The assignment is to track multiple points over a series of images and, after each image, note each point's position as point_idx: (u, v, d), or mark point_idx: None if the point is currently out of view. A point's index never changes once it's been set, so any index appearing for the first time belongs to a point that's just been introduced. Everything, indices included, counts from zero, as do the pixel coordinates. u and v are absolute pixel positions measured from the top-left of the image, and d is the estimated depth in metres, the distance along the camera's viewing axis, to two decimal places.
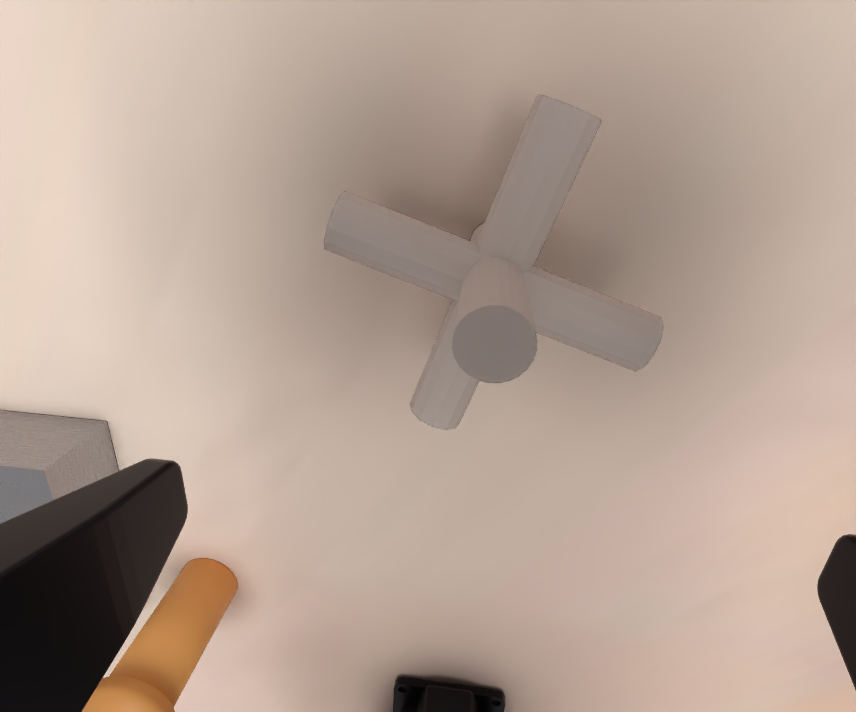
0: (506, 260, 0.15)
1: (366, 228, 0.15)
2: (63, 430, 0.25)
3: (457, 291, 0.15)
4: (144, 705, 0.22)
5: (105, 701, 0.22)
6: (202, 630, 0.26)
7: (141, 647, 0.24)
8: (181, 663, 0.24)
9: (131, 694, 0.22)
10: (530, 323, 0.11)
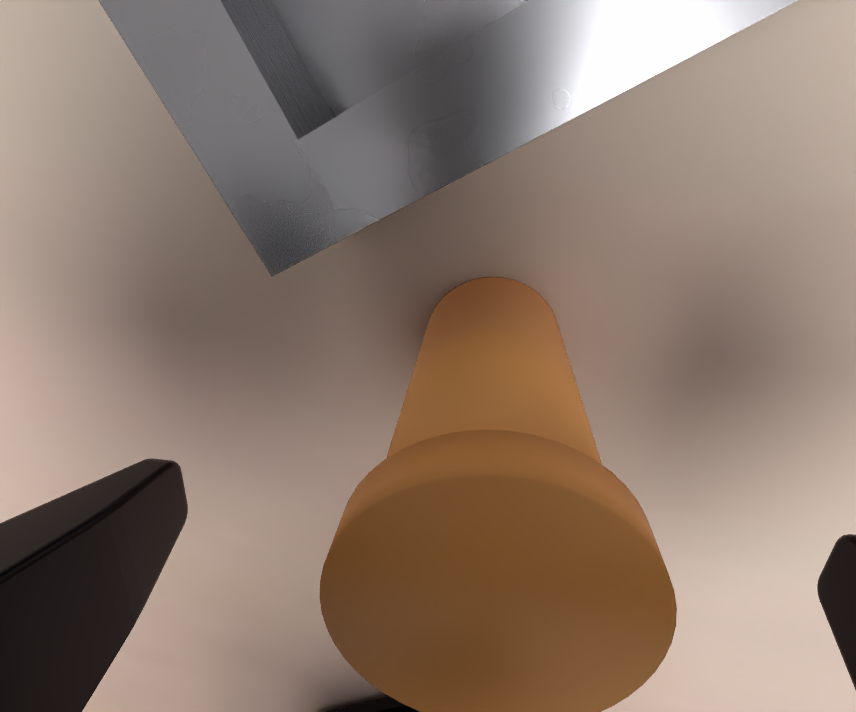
0: None
1: None
2: None
3: None
4: (651, 657, 0.06)
5: (597, 553, 0.05)
6: None
7: (583, 426, 0.07)
8: None
9: None
10: None
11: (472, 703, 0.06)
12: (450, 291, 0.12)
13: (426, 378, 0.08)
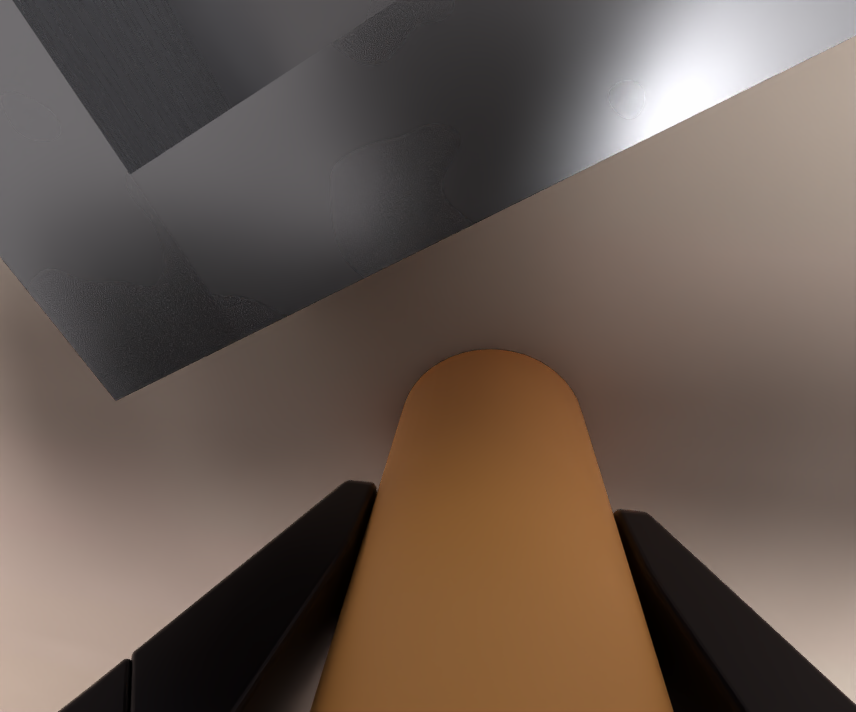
0: None
1: None
2: None
3: None
4: None
5: None
6: None
7: None
8: None
9: None
10: None
11: None
12: (432, 367, 0.09)
13: (377, 576, 0.05)
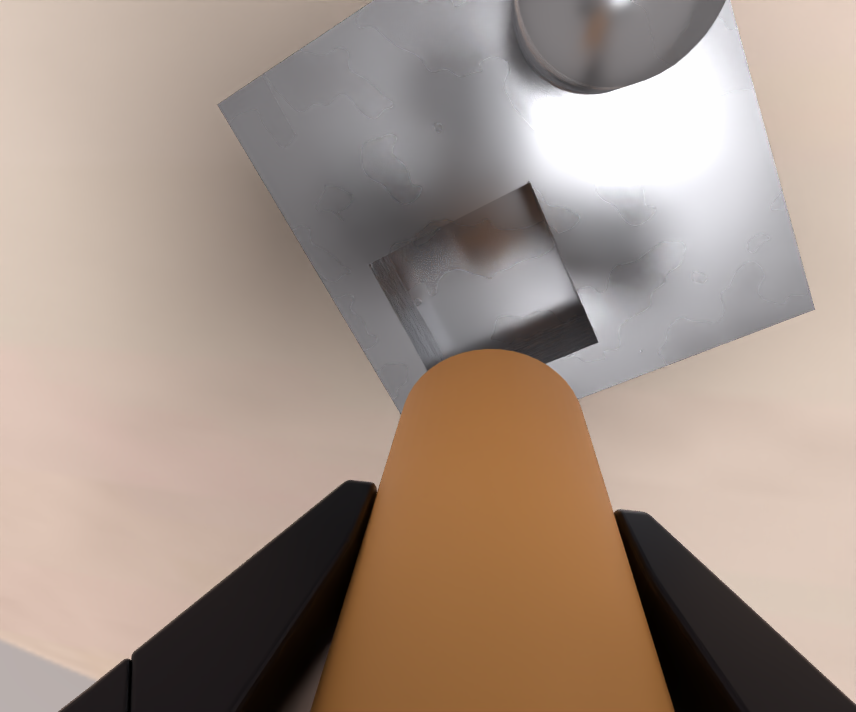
0: None
1: None
2: None
3: None
4: None
5: None
6: None
7: None
8: None
9: None
10: None
11: None
12: (433, 367, 0.09)
13: (377, 577, 0.05)
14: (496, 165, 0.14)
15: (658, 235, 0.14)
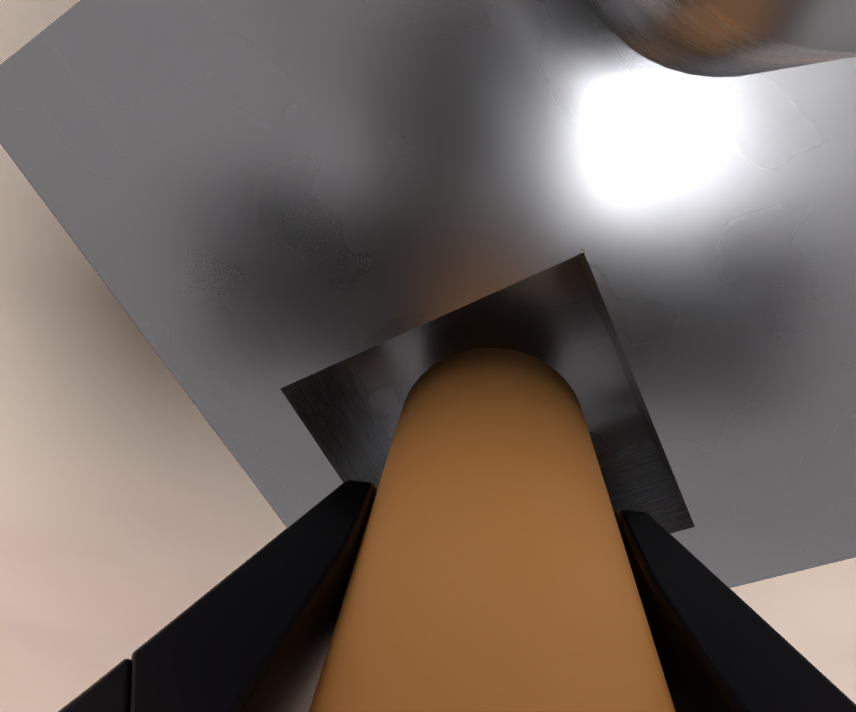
0: None
1: None
2: None
3: None
4: None
5: None
6: None
7: None
8: None
9: None
10: None
11: None
12: (432, 366, 0.09)
13: (377, 576, 0.05)
14: (517, 220, 0.07)
15: (832, 356, 0.07)
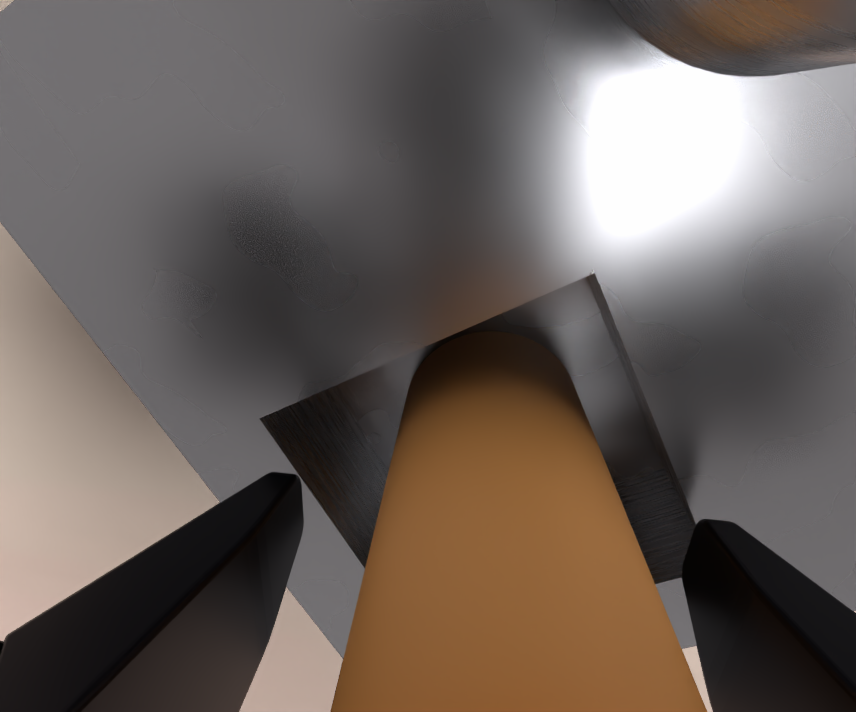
0: None
1: None
2: None
3: None
4: None
5: None
6: None
7: (662, 619, 0.04)
8: None
9: None
10: None
11: None
12: (436, 349, 0.09)
13: (405, 517, 0.05)
14: (520, 236, 0.06)
15: None
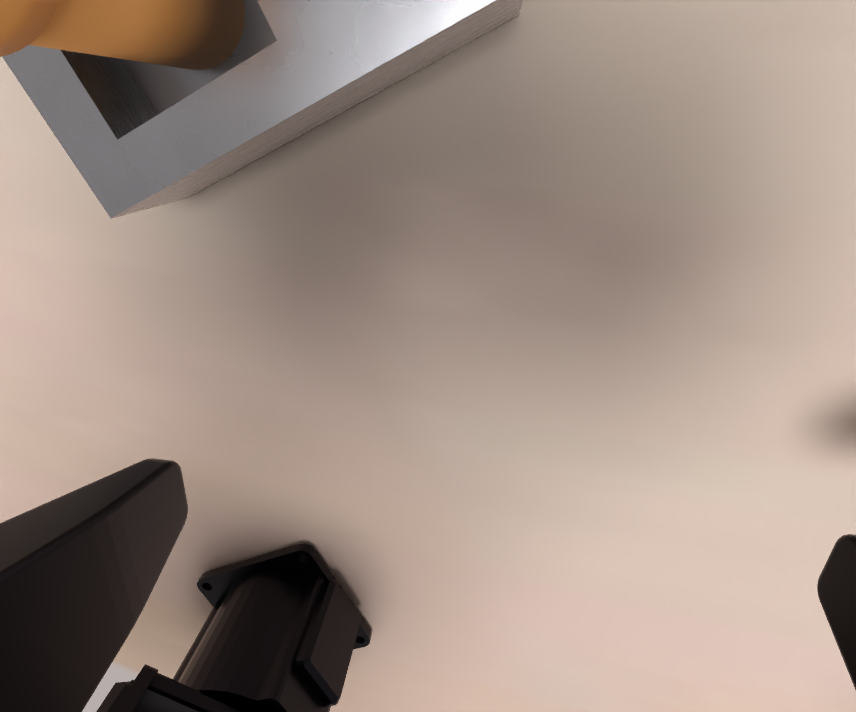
0: None
1: None
2: None
3: None
4: None
5: None
6: (163, 28, 0.11)
7: None
8: (109, 7, 0.10)
9: None
10: None
11: None
12: None
13: None
14: None
15: None
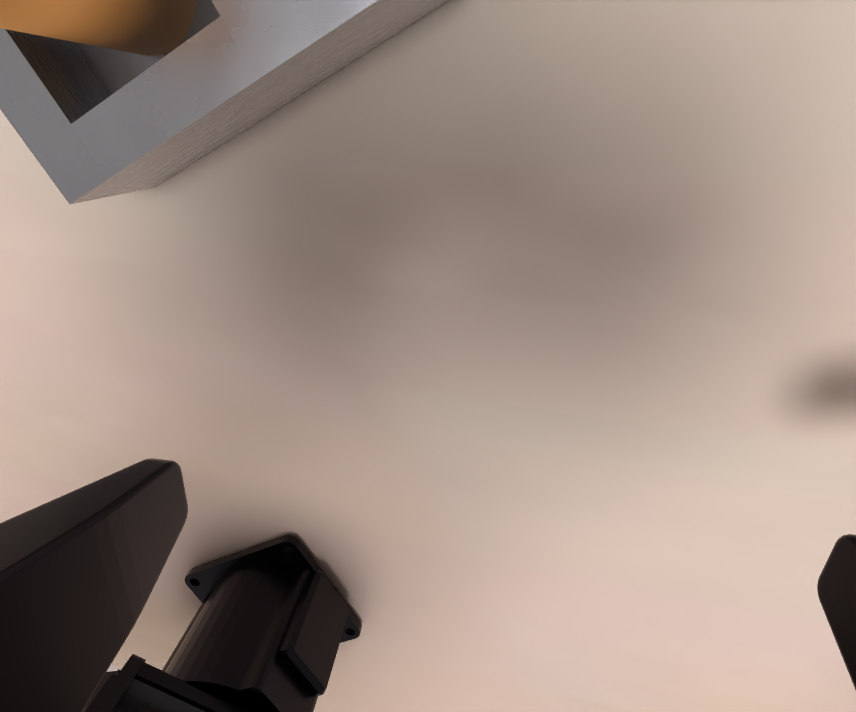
0: None
1: None
2: None
3: None
4: None
5: None
6: (104, 5, 0.11)
7: None
8: None
9: None
10: None
11: None
12: None
13: None
14: None
15: None
